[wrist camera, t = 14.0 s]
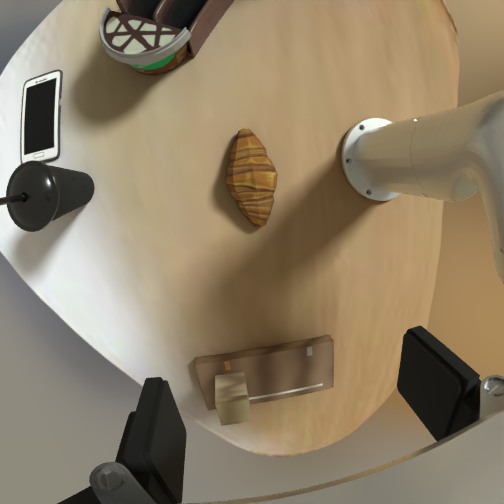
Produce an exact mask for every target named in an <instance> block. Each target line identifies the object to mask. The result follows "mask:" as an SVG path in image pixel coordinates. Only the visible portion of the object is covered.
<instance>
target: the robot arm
mask: <svg viewBox="0 0 504 504" xmlns="http://www.w3.org/2000/svg"><path fill="white" fill-rule="evenodd" d="M359 127H360V128H361V129H359ZM341 159H342V166H343V170H344V173H345V175H346V178H347V180H348V181H349V183H350V184H351V186H352V187H353V188H354V189H355V190H356V191H357V192H358V193H360V194H361V195H362V196H364V197H367V198H369V199H372V200H377V201H387V200H391V199H394V198H396V197H397V196H399V195H401V194H408V195H415V196H421V197H427V198H433V199H439V200H446V201H460V200H464V199H466V198H468V197H470V196H472V195H473V194H474V193H475V192H477V191H478V190H479V189H480V192H481V195H482V199H483V203H484V208H485V210H486V214H487V219H488V224H489V230H490V235H491V242H492V247H493V254H494V260H495V265H496V269H497V272H498V275H499V277H500V279H501V281H502V282H503V283H504V90H502V91H499V92H496V93H494V94H492V95H489V96H487V97H484V98H482V99H480V100H478V101H475V102H473V103H470V104H467V105H465V106H462V107H458V108H455V109H451V110H447V111H443V112H438V113H434V114H429V115H425V116H420V117H416V118H411V119H407V120H403V121H399V122H395V123H393V122H391V121H389V120H386V119H383V118H368V119H365V120H362V121H360V122H358V123H357V124H356V125H354V126H353V127H352V128H351V129H350V130H349V132H348V133H347V135H346V137H345V139H344V142H343V145H342V152H341ZM346 159H347V160H348V162H346ZM367 191H368V193H366V192H367ZM479 376H480V375H479V374H478V373H476V372H475V371H474V370H473V369H472V368H471V367H469V366H468V365H467V364H466V363H465V362H464V361H463V360H461V359H460V358H459V357H458V356H457V355H456V354H454V353H453V352H452V351H451V350H450V349H449V348H447V347H446V346H445V345H444V344H443V343H441V342H440V341H439V340H438V339H437V338H435V337H434V336H433V335H432V334H431V333H429V332H428V331H427V330H426V329H424V328H423V327H422V326H417V327H414V328H411V329H408V330H407V332H406V334H404V337H403V345H402V353H401V361H400V368H399V375H398V382H397V388H398V391H399V393H400V394H401V395H402V396H403V398H404V399H405V400H406V402H407V403H408V404H409V406H410V407H411V408H412V409H413V411H414V412H415V413H416V414H417V416H418V417H419V419H420V420H421V421H422V422H423V424H424V425H425V426H426V428H427V429H428V430H429V432H430V433H431V434H432V436H433V437H434V438H435V439H436V441H438V442H436V443H434V444H432V445H430V446H427V447H425V448H423V449H421V450H419V451H416V452H414V453H412V454H409V455H407V456H404V457H402V458H400V459H398V460H395V461H392V462H389V463H387V464H384V465H382V466H379V467H376V468H373V469H370V470H367V471H364V472H361V473H358V474H355V475H352V476H349V477H345V478H342V479H339V480H335V481H332V482H328V483H324V484H320V485H316V486H312V487H308V488H303V489H299V490H294V491H289V492H284V493H278V494H273V495H266V496H260V497H253V498H245V499H236V500H228V501H217V502H205V503H188V504H504V377H503V376H499V375H491V376H488V377H486V378H485V379H483V380H482V381H481V380H480V379H479ZM185 448H186V429H185V426H184V424H183V421H182V419H181V416H180V414H179V411H178V408H177V406H176V403H175V400H174V398H173V395H172V392H171V390H170V387H169V384H168V382H167V381H166V380H164V381H163V379H162V378H161V377H155V378H146V380H145V383H144V386H143V389H142V392H141V396H140V399H139V402H138V405H137V409H136V411H134V412H131V413H130V414H129V417H128V420H127V423H126V426H125V429H124V433H123V436H122V439H121V443H120V446H119V450H118V453H117V457H116V460H115V462H106V463H103V464H100V465H99V466H97V467H96V468H95V469H94V470H93V471H92V472H91V474H90V477H89V482H90V485H91V486H89V487H88V488H86V489H84V490H82V491H80V492H79V493H77V494H75V495H73V496H71V497H69V498H67V499H65V500H64V501H62V502H60V503H58V504H181V502H182V491H183V475H184V461H185Z"/></svg>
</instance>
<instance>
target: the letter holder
mask: <svg viewBox="0 0 504 504" xmlns="http://www.w3.org/2000/svg"><path fill="white" fill-rule="evenodd" d="M233 1H234V0H116V2H117V4H118V6H119V8H120V10H121V11H122V13H124V14H128V15H133V16H138V17H143V18H147V19H150V20H153V21H156V22H159V23H162V24H164V25H168V26H171V27H174V28H178V29H181V30H183V29H184V28H185V27H186V29H187V30H189V32H190V34H191V37H190V39H189V40H188V41H187V55H189V56H192V57H195V56H196V54H197V53H198V51H199V50H200V48H201V46H202V45H203V43H204V42H205V40H206V39H207V37H208V36H209V34H210V33H211V32H212V30H213V29H214V27H215V26H216V24H217V23H218V21H219V20H220V19H221V17H222V16H223V14H224V13H225V12H226V10H227V9H228V8H229V6H230V5H231V4H232V3H233Z"/></svg>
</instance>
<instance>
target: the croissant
mask: <svg viewBox="0 0 504 504" xmlns="http://www.w3.org/2000/svg"><path fill="white" fill-rule="evenodd" d="M226 183H227V186H228V188H229V190H230V192H231V195H232V196H233V197H234V198H235V199H236V200H237V203H238V207H239V209H240V210H241V211H242V212H243V213H244V215H245V216H246V217H247V218H248V220H249V221H250V222H251V223H252V224H253V225H254V227H262V226H264V225H265V224H266V222H267V220H268V218H269V215H270V212H271V209H272V206H273V203H274V198H273V194H274V191H275V189H276V183H277V172H276V170H275V167H274V165H273V163H272V161H271V160H270V159H269V158H268V156H267V155H266V149H265V147H264V146H263V145H262V143H261V142H260V141H259V139H258V138H257V137H256V136H255V135H254V133H253V132H252V131H251V130H250V129H242V130H240V131H239V132H238V134H237V137H236V139H235V141H234V144H233V147H232V150H231V152H230V163H229V166H228V168H227V177H226Z"/></svg>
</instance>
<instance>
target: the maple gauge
mask: <svg viewBox="0 0 504 504" xmlns="http://www.w3.org/2000/svg"><path fill="white" fill-rule="evenodd" d="M215 405H216V408H217V412H218V415H219V419H220V422H221V425H229V424H237V423H244V422H251V421H252V416H251V410H250V403H249V396H248V390H247V385H246V380H245V374H244V372H238V373H231V374H224V375H217V376H215Z"/></svg>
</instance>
